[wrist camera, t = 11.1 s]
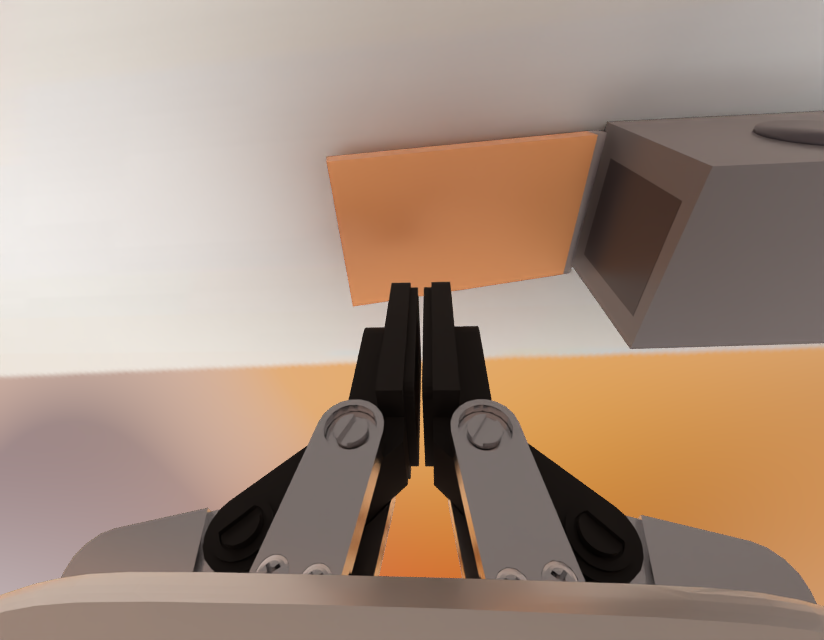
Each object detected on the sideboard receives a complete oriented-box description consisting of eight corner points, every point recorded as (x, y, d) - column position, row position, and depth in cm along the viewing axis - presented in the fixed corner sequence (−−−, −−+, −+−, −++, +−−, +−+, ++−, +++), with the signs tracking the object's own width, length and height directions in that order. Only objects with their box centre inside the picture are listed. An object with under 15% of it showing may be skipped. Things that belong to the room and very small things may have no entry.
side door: (611, 133, 15) (326, 161, 13) (573, 272, 19) (353, 306, 17) (593, 128, 16) (326, 154, 14) (561, 261, 20) (351, 293, 18)
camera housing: (847, 105, 15) (1123, 147, 9) (755, 256, 20) (902, 349, 14) (607, 117, 15) (727, 165, 10) (570, 263, 20) (635, 357, 14)
